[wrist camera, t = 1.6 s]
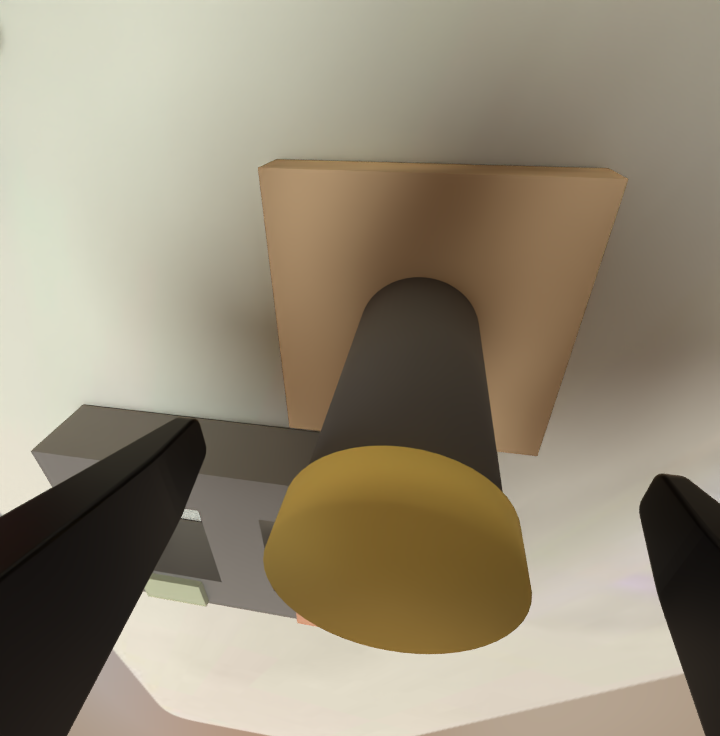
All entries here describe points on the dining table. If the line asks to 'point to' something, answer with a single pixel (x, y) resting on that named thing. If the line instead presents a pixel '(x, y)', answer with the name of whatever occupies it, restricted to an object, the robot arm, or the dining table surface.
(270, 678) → the dining table surface
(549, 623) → the dining table surface
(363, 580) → the plug
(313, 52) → the dining table surface
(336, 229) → the brown block
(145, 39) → the dining table surface
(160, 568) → the socket board
